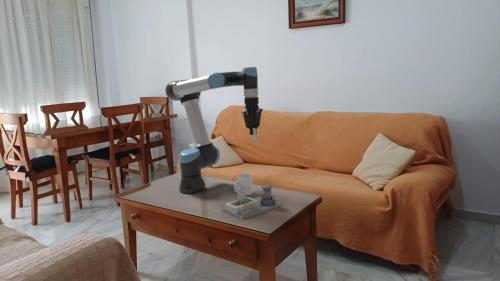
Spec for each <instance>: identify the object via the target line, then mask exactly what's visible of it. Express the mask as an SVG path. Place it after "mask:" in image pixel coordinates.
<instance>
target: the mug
mask: <svg viewBox="0 0 500 281" xmlns="http://www.w3.org/2000/svg"><path fill="white" fill-rule="evenodd" d="M237 187H245V196H246V197H248V196H251V195H252V194H253V193H254V190H253V175H252V174H251V173H239V174H237V175H236V181H235V182H234V185H233V189H234V192H235V193H236V194H237Z"/></svg>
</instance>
